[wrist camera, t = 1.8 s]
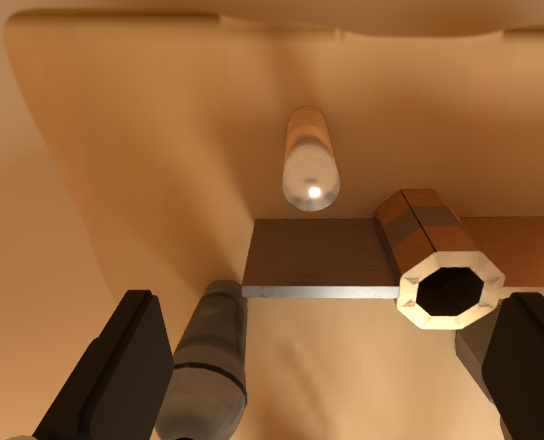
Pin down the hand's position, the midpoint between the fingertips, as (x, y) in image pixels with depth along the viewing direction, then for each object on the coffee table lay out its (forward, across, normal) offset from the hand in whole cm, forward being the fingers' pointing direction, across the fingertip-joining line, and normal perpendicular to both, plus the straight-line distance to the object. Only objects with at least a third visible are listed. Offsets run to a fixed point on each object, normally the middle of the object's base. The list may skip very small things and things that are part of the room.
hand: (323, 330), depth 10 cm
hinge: (+22, -9, +9) cm, 26 cm away
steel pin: (+22, 0, 0) cm, 22 cm away
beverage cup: (+22, +8, +18) cm, 30 cm away
